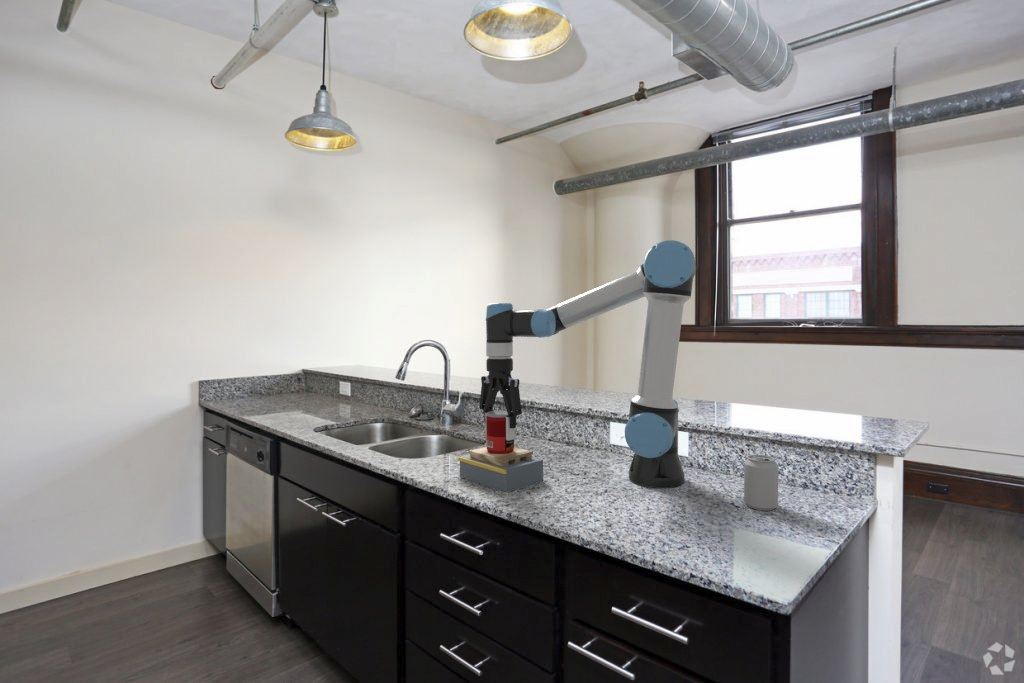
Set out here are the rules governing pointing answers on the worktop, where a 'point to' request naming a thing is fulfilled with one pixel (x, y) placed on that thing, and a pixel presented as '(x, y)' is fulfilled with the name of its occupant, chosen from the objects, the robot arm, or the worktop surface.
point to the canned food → (497, 433)
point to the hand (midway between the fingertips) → (500, 437)
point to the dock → (502, 473)
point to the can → (761, 482)
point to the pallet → (501, 456)
